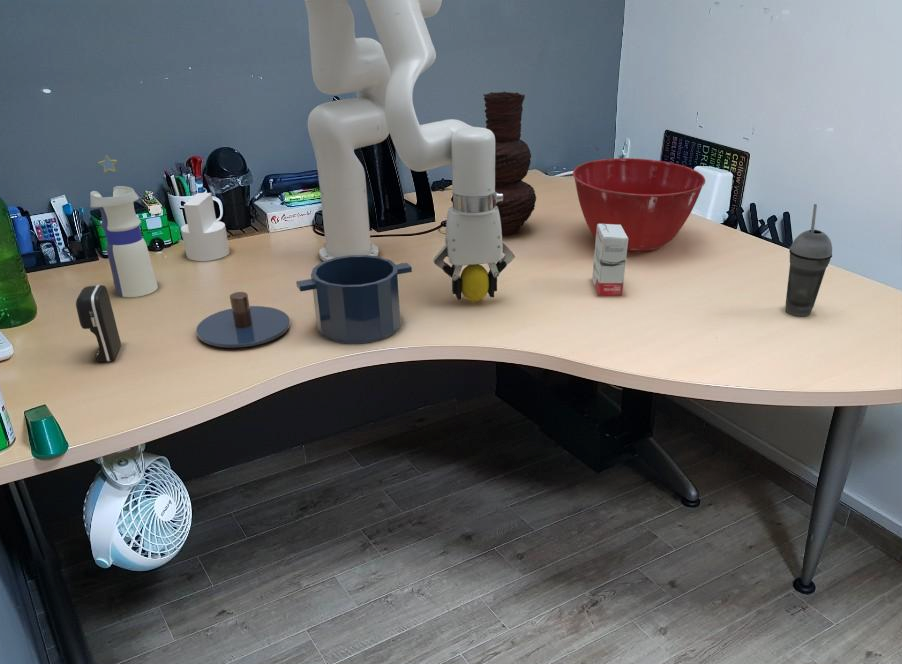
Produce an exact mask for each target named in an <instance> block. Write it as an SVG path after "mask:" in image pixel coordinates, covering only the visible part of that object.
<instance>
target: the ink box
mask: <svg viewBox="0 0 902 664" xmlns="http://www.w3.org/2000/svg"><path fill="white" fill-rule="evenodd" d="M594 242H595V244H594V254H593V267H592V276H591V278H592V283H593V286H594V287H595V288H594V289H595V291H596V294H597V296H601V297H602V296H605V297H606V296H609V297H610V296H612V297H613V296H623V291H624V282H625V273H626V272H625V271H626V263H627V255H628V252H627V246H628V237H627V235H626V233H625V232H624V230H623V228H622V226H621V225H614V224H597V231H596V238H595V241H594Z"/></svg>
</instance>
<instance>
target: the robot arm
mask: <svg viewBox="0 0 902 664" xmlns="http://www.w3.org/2000/svg"><path fill="white" fill-rule="evenodd" d="M303 1H304V4H305V10H306V13H307V21H308V38H309V40H308V41H309V53H310V67H311V75H312V79H313V83H314V86H315V88H316V89H317V90H318V91H319V92H321V93H322V94H324V95H328V96H336V95H337V96H338V95H344V94H352V93H356V97H351V98H344V99H337V100H331V101H327V102H323V103H320V104H319V105H316V107H314V108H313V109H311V112H309V114H308V117H307V130H308V135H309V139H310V142H311V145H312V149H313V153H314V158H315V163H316V170H317V176H318V185H319V195H320V204H321V212H322V222H323V232H324V241H325V245H324V246H322V247H321V248H320V249H319V252H318V253H319V254H318V255H319V259H320V260H322V262H324V261H327V260H329V259H332V258H337V257H343V256H349V255H369V256H377V257H379V247H378V246H377V245H376V244H374V243H372V242H371V230H370V219H369V218H370V217H369V216H370V215H369V204H368V191H367V190H368V189H367V180H366V172H365V168H364V166H363V164H362V163H361V161H360V159H359V158H358V157H357V155H356V154H355V153H356V152H355V150H356V149H361V148H365V147H368V146H373V145H376V144H380V143H382V142H384V141H385V140H386V139H387V138H388V137H389V135H390V139H391V141H392V143H393V144H392V145H393V146H394V149H395V151H396V153H397V156H398V157H399V159H400V160H401V162H402V164H403V165H405V166H406V168H408V169H409V170H411V171H414V172H426V171H430V170H434V169H437V168H440V167H445V166H450V165H451V189H452V191H451V192H452V206H449V207H448V209H447V214H446V222H445V241H444V242H445V244H444V246H443V247H442V248H441V249H440V250H439V252H438V253H437V254H436V255H435V256H434V257H433V259H432V261H433V263H434V265H435V266H437V267H438V268H439V269H441V270H442V271H443V272H444V273H445V274H446V275H448V277H450V278H451V290H452V292H451V293H452V295H455V297H456V300H457V301H461V300H462V297H463V296H462V295H463V294H462V292H461V279H460V277H461V273H462V270H463V269H462V268H463V266H468V265H476V264H479V265H487V266H488V268H489V270H488V271H487V273H488V276H489V290H488V292H487V294H488V296H489V297H490V298H495V292H497V291H498V277H499V276H500V274H501V273H502V272H503V271H504V270H505V269H506V267H507V265H509V264H510V263H511V262H513V260H514V259H515V258H516V255H515V254H514V252H513V251H512V250H511V249H510V248H509V247H508V246H507V245H506V244H505V243H504V242H503V235H502V230H501V221H500V214H499V210H498V207H497V206H496V204H497V202H499V201H503V194H502V193H496V191H495V136H494V134H493V132H492V131H491V130H489V129H486V127H481V126H480V127H479V126H473V125H470V124H468V123H466V122H464V121H462V120H459V119H455V118H452V119H451V118H449V119H443V120H439V121H433V122H428V123H423V124H420V122H419V119H418V116H417V114H416V110H415V107H414V101H413V100H414V99H413V98H414V97H413V94H414V88H415V84H416V82H417V80H418V78H419V77H420V75H422V74H423V73H424V72H426V71H427V70H428V69H429V68H430V67H432V65H433V64H434V63H435V61H436V60H437V59H436V58H437V52H436V49H435V46H434V44H433V41H432V39H431V35H430V32H429V30H428V26H427V24H426V20H425V19H428V18H431V17H434V16H435V15H437V13H438V12H439V11H440V10H441V9H440V8H441V6H442V2H443V0H364V1H365V4H366V7H367V10H368V13H369V16H370V18H371V22H372V24H373V27H374V29H375V32H376V35H377V37H378V40H376V39H374V38H371V37H357V38H356V31H355V30H356V29H355V27H356V23H355V22H356V21H355V16H354V13H353V11H352V8H351V6H350V5H349V2H348V1H347V0H303ZM503 254H504V256H503ZM446 258H448V263H449V264H451V266H450V265H449V264H448V263H447V262H446V261H444V260H445V259H446Z"/></svg>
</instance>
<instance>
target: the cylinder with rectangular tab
mask: <svg viewBox="0 0 902 664" xmlns="http://www.w3.org/2000/svg"><path fill="white" fill-rule="evenodd" d="M214 205H215V204H214V200H213V195H212V192H197V193H196V194H194V196H192V197H191V198H190V199H189V200H188V201H187V202H185V203H184V204H183V208H184V213H185V219H186V224H184V225H182V226H181V227H180V232H181V236H182V241H183V246H184V250H185V255H186V258H187V259H188V260H190V261H195V262H211V261H215V260H219V259H222V258H225V257H227V256H228V255H229V254H230V244H229V241H228V235H227V228H226V224H225V222H223V221H220V220H217V217H216V210H215V206H214Z"/></svg>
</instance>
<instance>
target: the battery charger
mask: <svg viewBox="0 0 902 664" xmlns="http://www.w3.org/2000/svg"><path fill="white" fill-rule="evenodd" d="M75 308H76V313H77V317H78V320H79V324H80V327H81V328H82V329H83V330H90V332H91V333H92V334H93V335H95V338H96V342H97V344H98V348H97V350H96V353H95V354H94V360H95V361H97V362H111V361H114V360H115V359H116V357H117V355H118V352H119V350H120V347H121V345H122V341H121V337H120V334H119V329H118V326H117V322H116V318H115V314H114V310H113V306H112V302H111V298H110V294H109V292H108V288H107V287H106V285H102V284H97V285H87V286H85V287H83V288H82V290H80V293H79V294H78V296H77V298H76V301H75Z"/></svg>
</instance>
